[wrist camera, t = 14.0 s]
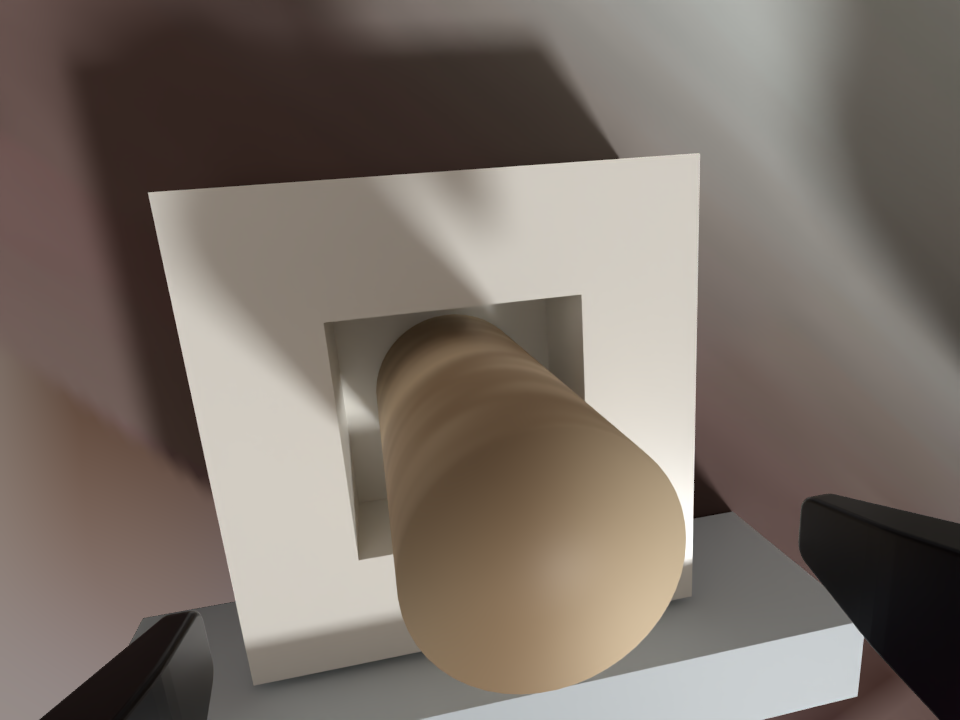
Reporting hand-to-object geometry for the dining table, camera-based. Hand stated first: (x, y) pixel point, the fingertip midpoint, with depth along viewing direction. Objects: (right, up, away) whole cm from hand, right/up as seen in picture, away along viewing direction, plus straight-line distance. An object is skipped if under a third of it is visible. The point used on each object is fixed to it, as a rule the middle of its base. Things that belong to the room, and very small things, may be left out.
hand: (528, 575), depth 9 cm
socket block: (-2, +2, +10) cm, 10 cm away
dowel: (-2, +2, +9) cm, 9 cm away
